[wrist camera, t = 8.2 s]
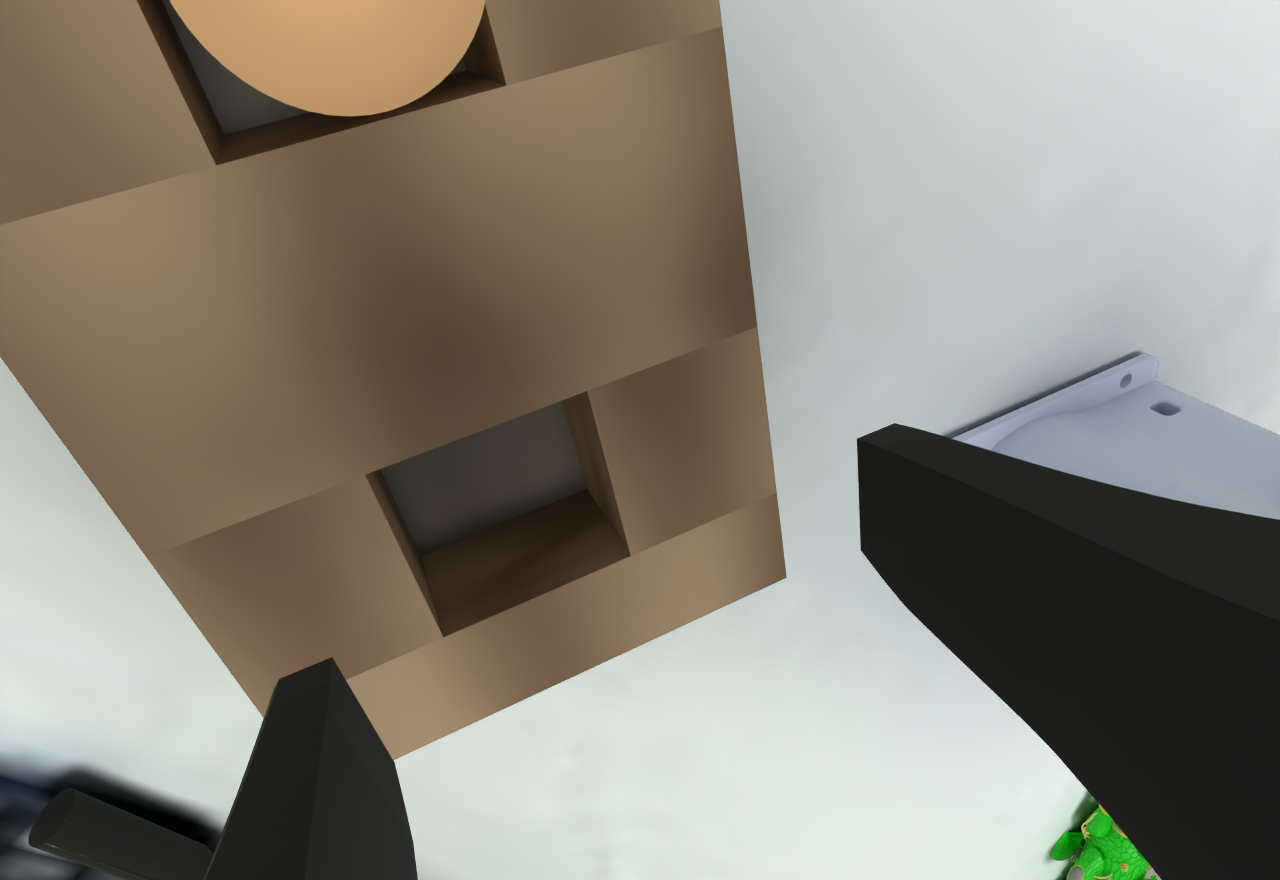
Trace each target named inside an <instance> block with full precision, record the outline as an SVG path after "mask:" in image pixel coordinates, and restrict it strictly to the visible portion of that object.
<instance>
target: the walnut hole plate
mask: <svg viewBox="0 0 1280 880" xmlns="http://www.w3.org/2000/svg"><path fill="white" fill-rule="evenodd" d="M0 357H1V358H2V360H3V361H4V362H5V364H6V365H7V366H8V368H9V369H10V371H11V372H12V373H13V375H14V376H15V377H16V379H17V380H18V382H19V383H20V384H21V386H22V387H23V388H24V390H25V391H26V393H27V394H28V395H29V397H30V398H31V399H32V401H33V402H34V404H35V405H36V406H37V408H38V409H39V410H40V412H41V413H42V414H43V416H44V417H45V419H46V420H47V421H48V423H49V424H50V425H51V427H52V428H53V430H54V431H55V432H56V434H57V435H58V436H59V438H60V439H61V441H62V442H63V443H64V445H65V446H66V447H67V449H68V450H69V451H70V453H71V454H72V456H73V457H74V458H75V460H76V461H77V462H78V464H79V465H80V467H81V468H82V469H83V471H84V472H85V473H86V475H87V476H88V478H89V479H90V480H91V482H92V483H93V484H94V486H95V487H96V489H97V490H98V491H99V493H100V494H101V495H102V497H103V498H104V499H105V501H106V502H107V504H108V505H109V506H110V508H111V509H112V510H113V512H114V513H115V515H116V516H117V517H118V519H119V520H120V521H121V523H122V524H123V526H124V527H125V528H126V530H127V531H128V532H129V534H130V535H131V536H132V538H133V539H134V541H135V542H136V543H137V545H138V546H139V547H140V549H141V550H142V552H143V553H144V554H145V556H146V557H147V558H148V560H149V561H150V563H151V564H152V565H153V567H154V568H155V569H156V571H157V572H158V574H159V575H160V576H161V578H162V579H163V580H164V582H165V583H166V584H167V586H168V587H169V589H170V590H171V591H172V593H173V594H174V595H175V597H176V598H177V600H178V601H179V602H180V604H181V605H182V606H183V608H184V609H185V611H186V612H187V613H188V615H189V616H190V617H191V619H192V620H193V621H194V623H195V624H196V626H197V627H198V628H199V630H200V631H201V632H202V634H203V635H204V637H205V638H206V639H207V641H208V642H209V643H210V645H211V646H212V648H213V649H214V650H215V652H216V653H217V654H218V656H219V657H220V659H221V660H222V661H223V663H224V664H225V665H226V667H227V668H228V669H229V671H230V672H231V674H232V675H233V676H234V678H235V679H236V680H237V682H238V683H239V685H240V686H241V687H242V689H243V690H244V691H245V693H246V694H247V696H248V697H249V698H250V700H251V701H252V702H253V704H254V705H255V706H256V708H257V709H258V711H259V712H260V713H261V715H262V716H263V717H264V716H265V713H266V710H267V707H268V705H269V702H270V699H271V696H272V693H273V690H274V688H275V686H276V684H277V682H278V680H279V679H280V678H283V677H285V676H287V675H290V674H292V673H295V672H297V671H299V670H302V669H304V668H307V667H309V666H312V665H314V664H316V663H319V662H321V661H324V660H326V659H328V658H331V657H333V659H334V661H335V663H336V664H337V666H338V668H339V669H340V671H341V673H342V674H343V676H344V678H345V679H346V681H347V683H348V685H349V686H350V688H351V690H352V691H353V693H354V695H355V696H356V698H357V700H358V702H359V703H360V705H361V707H362V708H363V710H364V712H365V713H366V715H367V717H368V718H369V720H370V722H371V724H372V725H373V727H374V729H375V730H376V732H377V734H378V735H379V737H380V739H381V741H382V742H383V744H384V746H385V747H386V749H387V751H388V752H389V754H390V756H391V757H392V759H393V760H395V759H397V758H399V757H401V756H403V755H405V754H408V753H410V752H412V751H414V750H416V749H418V748H421V747H423V746H425V745H427V744H429V743H431V742H433V741H436V740H438V739H440V738H442V737H444V736H446V735H449V734H451V733H453V732H455V731H457V730H459V729H461V728H464V727H466V726H468V725H470V724H472V723H474V722H477V721H479V720H481V719H483V718H485V717H487V716H489V715H492V714H494V713H496V712H498V711H500V710H502V709H505V708H507V707H509V706H511V705H513V704H515V703H517V702H520V701H522V700H524V699H526V698H528V697H530V696H532V695H535V694H537V693H539V692H541V691H543V690H545V689H548V688H550V687H552V686H554V685H556V684H558V683H560V682H563V681H565V680H567V679H569V678H571V677H573V676H576V675H578V674H580V673H582V672H584V671H586V670H588V669H591V668H593V667H595V666H597V665H599V664H601V663H604V662H606V661H608V660H610V659H612V658H614V657H616V656H619V655H621V654H623V653H625V652H627V651H629V650H632V649H634V648H636V647H638V646H640V645H642V644H644V643H647V642H649V641H651V640H653V639H655V638H657V637H659V636H662V635H664V634H666V633H668V632H670V631H672V630H675V629H677V628H679V627H681V626H683V625H685V624H687V623H690V622H692V621H694V620H696V619H698V618H700V617H703V616H705V615H707V614H709V613H711V612H713V611H715V610H718V609H720V608H722V607H724V606H726V605H728V604H731V603H733V602H735V601H737V600H739V599H741V598H743V597H746V596H748V595H750V594H752V593H754V592H756V591H759V590H761V589H763V588H765V587H767V586H769V585H771V584H774V583H776V582H778V581H780V580H782V579H784V578H786V569H785V560H784V552H783V543H782V535H781V526H780V517H779V509H778V500H777V492H776V483H775V475H774V466H773V458H772V449H771V440H770V432H769V423H768V415H767V406H766V398H765V389H764V381H763V372H762V363H761V355H760V346H759V338H758V329H757V321H756V312H755V304H754V295H753V286H752V278H751V269H750V261H749V252H748V244H747V235H746V226H745V218H744V209H743V201H742V192H741V184H740V175H739V167H738V158H737V149H736V141H735V132H734V124H733V115H732V107H731V98H730V90H729V81H728V72H727V64H726V55H725V47H724V38H723V30H722V21H721V12H720V4H719V0H486V1H485V5H484V9H483V13H482V17H481V20H480V23H479V25H478V28H477V30H476V33H475V36H474V38H473V40H472V41H471V43H470V45H469V47H468V49H467V51H466V52H465V54H464V56H463V57H462V58H461V60H460V61H459V62H458V64H457V65H456V66H455V68H454V69H453V70H452V71H451V72H450V73H449V74H448V75H447V76H446V77H445V78H444V79H443V81H442V82H441V83H440V84H438V85H437V86H436V87H434V88H433V89H432V90H430V91H429V92H428V93H426V94H425V95H423V96H422V97H420V98H418V99H416V100H414V101H413V102H411V103H409V104H407V105H404V106H401V107H399V108H396V109H393V110H391V111H387V112H382V113H377V114H373V115H363V116H334V115H326V114H321V113H315V112H310V111H306V110H303V109H300V108H297V107H294V106H291V105H288V104H285V103H283V102H281V101H279V100H276V99H274V98H272V97H270V96H268V95H266V94H264V93H262V92H261V91H259V90H257V89H256V88H254V87H252V86H251V85H249V84H247V83H245V82H244V81H243V80H241V79H240V78H239V77H237V76H236V75H235V74H233V73H232V72H231V71H230V70H228V69H227V68H226V67H224V66H223V65H222V64H221V63H220V62H219V61H218V60H217V59H216V58H215V57H214V56H213V55H212V54H211V53H209V52H208V51H207V50H206V49H205V48H204V46H203V45H202V44H201V43H200V42H199V41H198V39H197V38H196V37H195V36H194V35H193V34H192V32H191V31H190V30H189V29H188V28H187V26H186V25H185V23H184V22H183V20H182V19H181V18H180V16H179V15H178V13H177V12H176V10H175V9H174V7H173V6H172V4H171V2H170V1H169V0H0Z"/></svg>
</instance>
